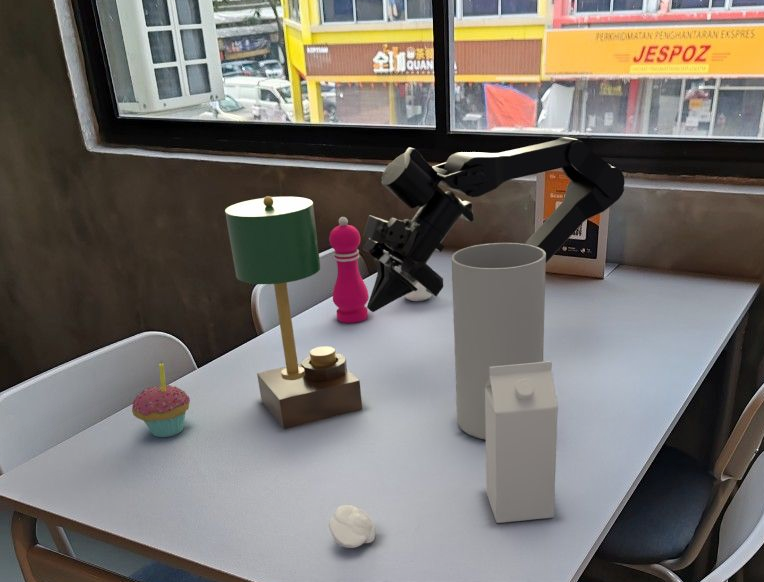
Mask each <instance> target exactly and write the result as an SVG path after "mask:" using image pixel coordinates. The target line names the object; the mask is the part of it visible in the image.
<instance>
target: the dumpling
mask: <svg viewBox="0 0 764 582" xmlns="http://www.w3.org/2000/svg"><path fill="white" fill-rule="evenodd" d="M328 528H329V531H330V534H331V536H332V538H333V539H334V544H336V543H337V544H338V545H339V546H341V547H343V548H347V549H355V548H359V547H360V546H362V545H363V544H371V543H372V542H374V540H375V539H376V534H377V533H376V531H377V530H376V527H375V525H374V523H373V521H372V519H371V518H370V516H369V515H368V514H367V513H366V512H365V511H364V510H363V509H361V508H359V507H356V506H354V505H352V504H344V505H340V506H338V508H336V510H335V511H334V513H333V517H332V518H331V519H330V520H329V523H328Z"/></svg>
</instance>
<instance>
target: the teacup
mask: <svg viewBox="0 0 764 582" xmlns="http://www.w3.org/2000/svg"><path fill="white" fill-rule="evenodd" d="M415 287H416V288H417V289H418V290H417V291H416V292H415V291H412V292H410V293H408V294H406V295H404V296H403V297H404V298H406V299H407V300H408V301H411V302H423V301H426V300H428V299H430V298H431V297H432V296H433V295H432V294H430V293H428V292H427V291H426V288H425V287H423V286H422V285H421V284H420V283H419V282H417V284H416V285H415Z"/></svg>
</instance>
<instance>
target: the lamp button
mask: <svg viewBox="0 0 764 582" xmlns="http://www.w3.org/2000/svg"><path fill="white" fill-rule="evenodd" d="M335 353H336V349H335V347H332V346H328V345H327V346H326V345H325V346H323V345H322V346H317V347H314V348H312V349H310V351H309V356H310V359H311V365H312V366H316V367H325V366H329V365H333V364H334V363H336V354H335Z"/></svg>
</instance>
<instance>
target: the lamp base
mask: <svg viewBox="0 0 764 582" xmlns="http://www.w3.org/2000/svg"><path fill="white" fill-rule="evenodd" d="M335 354H336V363H334V364H333V365H329V366H325V367H316V366H312V365H311V359H310V355H308V356H307V357H305V358H303V359H302V361H301V362H300V363H298V366H300V367H303V368H304V369H305V376H304V377H303V378H300V379H297V380H285V379H283V378H282V376H281V371H282V370H283V369H285V368H286V366H283V367H278V368H275V369H269V370H265V371H261V372H257V373H256V375H257V376H256V377H257V383H258V389H259V394H260V400H261V403H262V404H263V405H264V406H265V408H266V409H267V410H268V411H269V412H270V414H271V415H272V416H273V418H274V419H275V420H276V421H277V423H278V424H279V425H280V426H281V427H282V429H283V430H288V429H292V428H295V427H299V426H303V425H307V424H311V423H314V422H318V421H322V420H326V419H327V420H328V419H330V418H334V417H338V416H339V417H340V416H342V415H347V414H350V413H355V412H358V411H361V410H363V403H362V402H363V401H362V391H361V382H360V381H361V380H360V379H358V377H357V376H355V375H354V374H353V373H351V372H350V371H349V370H348V364H347V358H346V356H344V355H343V354H342V353H337V352H335Z"/></svg>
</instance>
